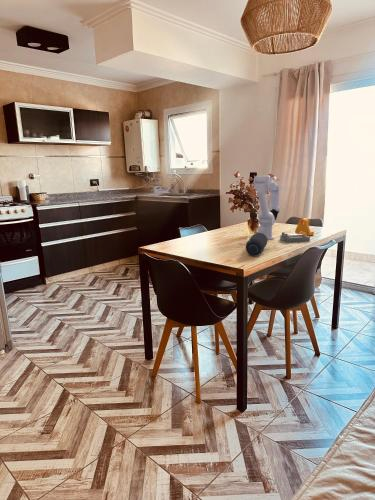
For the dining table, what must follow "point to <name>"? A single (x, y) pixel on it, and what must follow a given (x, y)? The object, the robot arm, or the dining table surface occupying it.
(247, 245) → the portable speaker
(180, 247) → the dining table surface
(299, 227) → the orange animal figurine
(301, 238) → the base block
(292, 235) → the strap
